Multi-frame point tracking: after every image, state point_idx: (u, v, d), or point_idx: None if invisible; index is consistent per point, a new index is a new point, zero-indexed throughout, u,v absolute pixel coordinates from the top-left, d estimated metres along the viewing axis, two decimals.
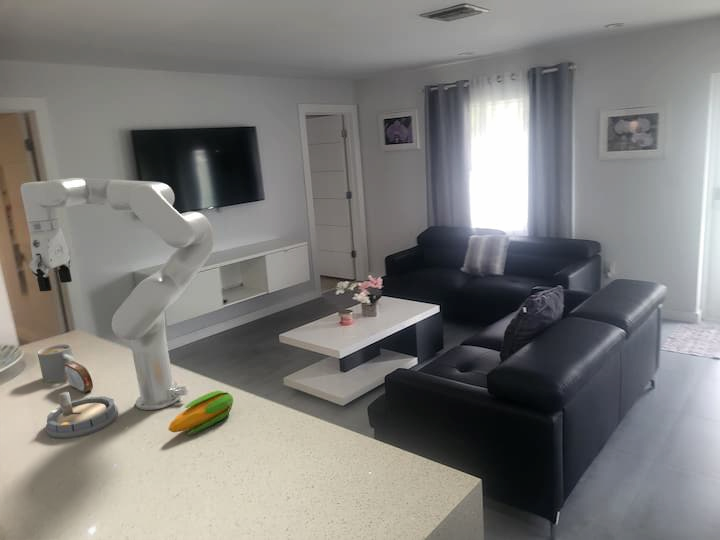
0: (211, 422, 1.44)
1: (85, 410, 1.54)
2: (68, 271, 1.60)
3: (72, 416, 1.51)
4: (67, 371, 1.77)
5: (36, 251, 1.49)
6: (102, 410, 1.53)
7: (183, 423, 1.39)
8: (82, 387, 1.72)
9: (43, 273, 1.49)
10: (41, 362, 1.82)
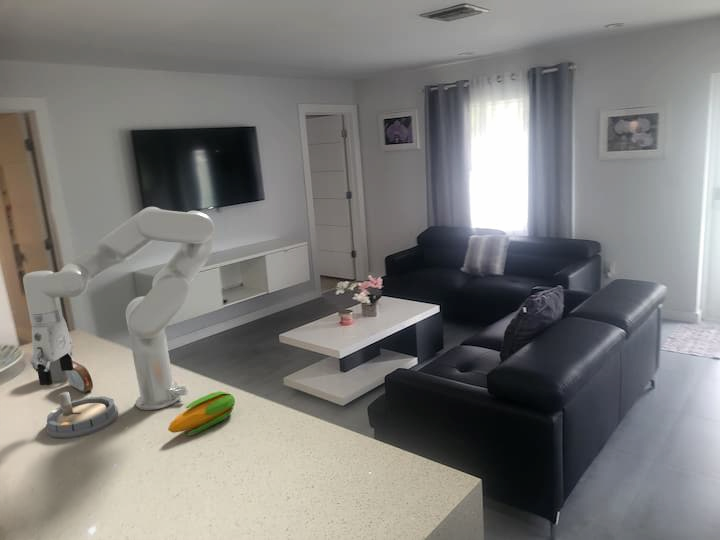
0: (211, 423, 1.43)
1: (85, 410, 1.54)
2: (70, 359, 1.54)
3: (72, 416, 1.51)
4: (67, 371, 1.77)
5: (37, 345, 1.43)
6: (102, 410, 1.53)
7: (183, 423, 1.39)
8: (82, 387, 1.72)
9: (44, 368, 1.43)
10: None
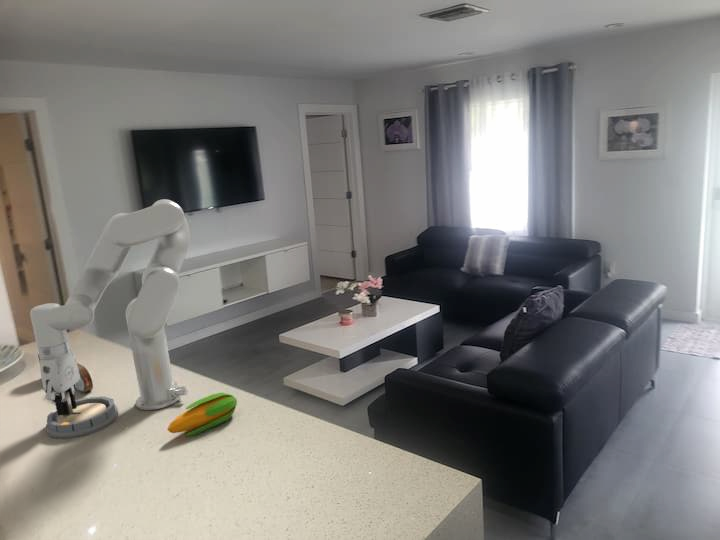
0: (211, 424, 1.43)
1: (85, 410, 1.54)
2: (73, 398, 1.53)
3: (72, 416, 1.51)
4: None
5: (46, 377, 1.45)
6: (102, 410, 1.53)
7: (182, 424, 1.39)
8: (82, 387, 1.72)
9: (61, 400, 1.49)
10: None
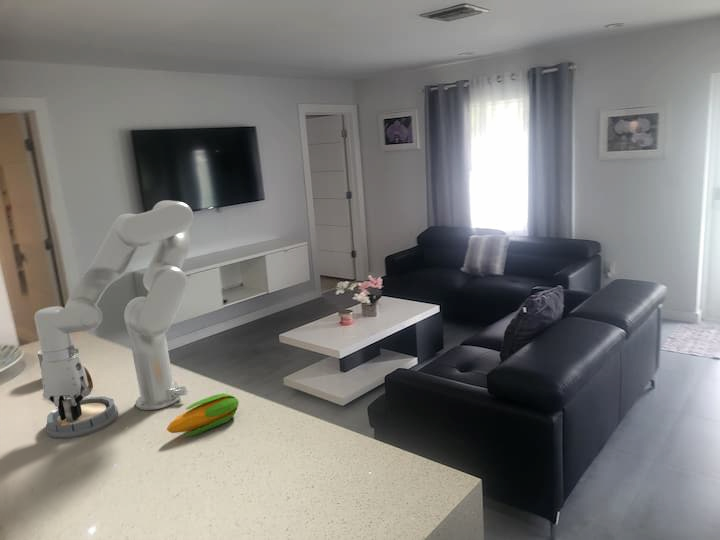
0: (211, 425, 1.42)
1: None
2: None
3: (83, 416, 1.51)
4: None
5: (80, 375, 1.45)
6: (91, 404, 1.58)
7: (181, 424, 1.38)
8: None
9: None
10: (41, 362, 1.82)
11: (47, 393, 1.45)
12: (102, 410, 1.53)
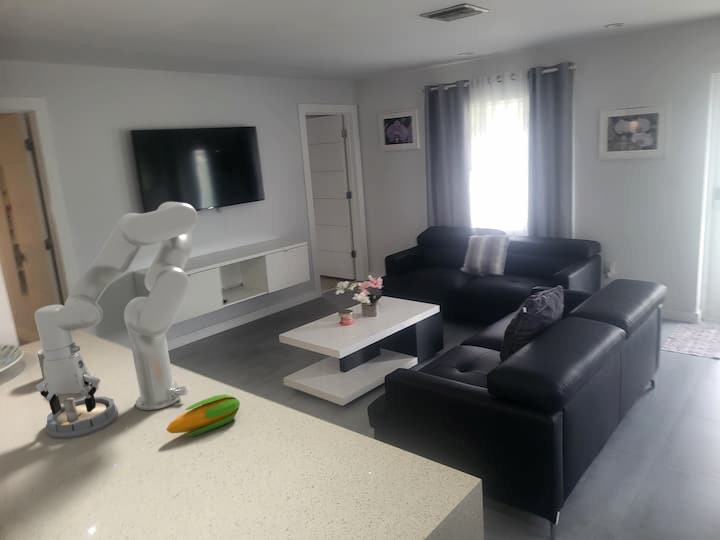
0: (211, 426, 1.42)
1: (76, 413, 1.53)
2: None
3: (83, 416, 1.51)
4: None
5: (82, 372, 1.45)
6: None
7: (181, 425, 1.38)
8: None
9: None
10: (41, 362, 1.82)
11: (50, 391, 1.45)
12: (102, 409, 1.54)
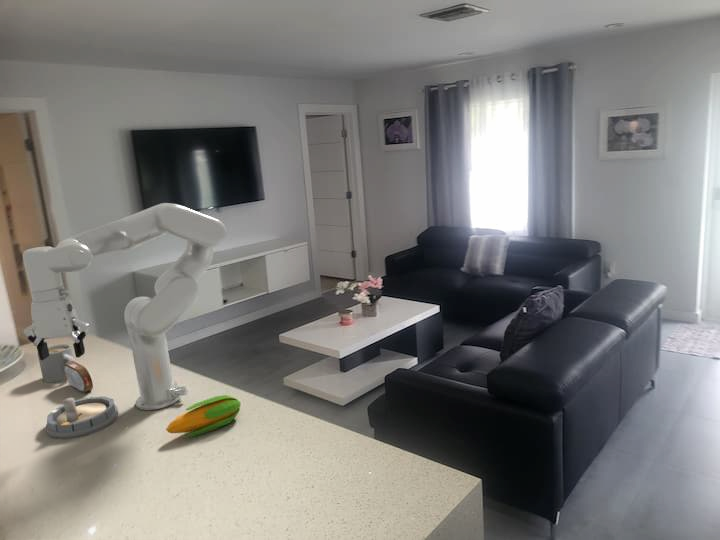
0: (211, 427, 1.41)
1: (76, 413, 1.53)
2: None
3: (83, 416, 1.51)
4: (67, 371, 1.77)
5: (71, 316, 1.42)
6: (89, 404, 1.58)
7: (180, 425, 1.38)
8: (82, 387, 1.72)
9: None
10: (41, 362, 1.82)
11: (38, 335, 1.42)
12: (102, 409, 1.54)
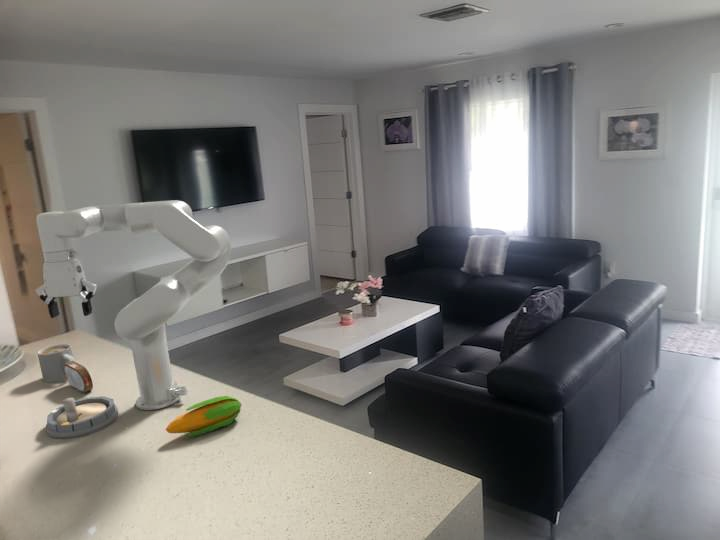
0: (210, 428, 1.41)
1: (76, 413, 1.53)
2: None
3: (83, 416, 1.51)
4: (67, 371, 1.77)
5: (80, 276, 1.53)
6: (89, 404, 1.58)
7: (180, 425, 1.38)
8: (82, 387, 1.72)
9: None
10: (41, 362, 1.82)
11: (49, 294, 1.53)
12: (102, 409, 1.54)
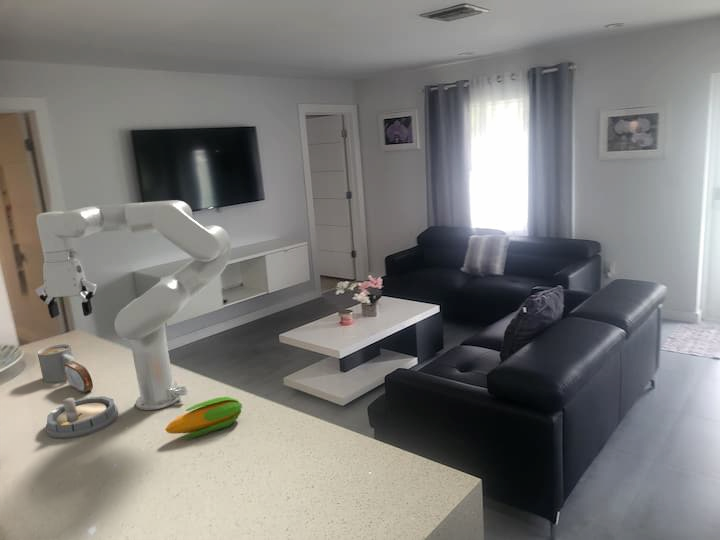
0: (210, 429, 1.40)
1: (76, 413, 1.53)
2: None
3: (83, 416, 1.51)
4: (67, 371, 1.77)
5: (80, 276, 1.53)
6: (89, 404, 1.58)
7: (179, 426, 1.38)
8: (82, 387, 1.72)
9: None
10: (41, 362, 1.82)
11: (49, 294, 1.53)
12: (102, 409, 1.54)
